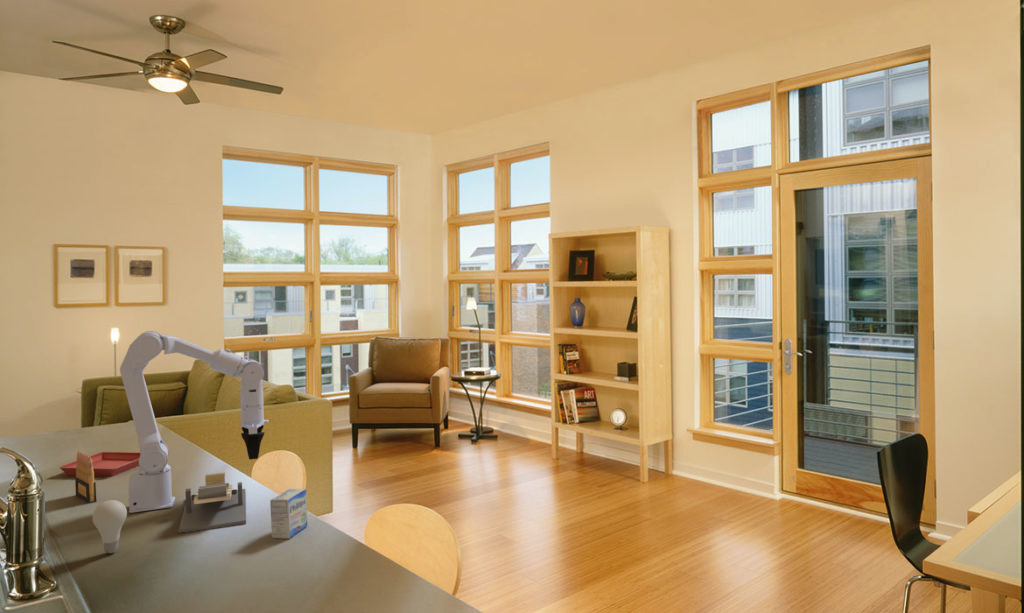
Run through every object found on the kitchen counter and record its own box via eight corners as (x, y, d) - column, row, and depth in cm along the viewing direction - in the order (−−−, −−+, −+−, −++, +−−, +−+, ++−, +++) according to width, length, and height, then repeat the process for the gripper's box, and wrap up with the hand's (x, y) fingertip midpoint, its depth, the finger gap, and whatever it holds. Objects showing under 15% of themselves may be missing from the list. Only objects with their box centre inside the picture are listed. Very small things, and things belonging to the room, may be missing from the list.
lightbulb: (92, 561, 131) (90, 507, 131) (95, 550, 136) (93, 499, 136) (127, 555, 134) (125, 502, 133) (129, 545, 139) (127, 494, 139)
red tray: (154, 462, 208) (154, 451, 208) (114, 479, 190) (114, 467, 190) (102, 461, 210) (101, 451, 210) (57, 478, 192) (57, 467, 192)
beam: (236, 499, 151) (235, 484, 152) (188, 505, 147) (187, 490, 148) (237, 489, 172) (236, 476, 173) (195, 494, 168) (195, 481, 169)
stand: (246, 523, 151) (245, 498, 150) (178, 533, 145) (177, 507, 145) (245, 491, 175) (244, 469, 174) (187, 499, 169) (186, 476, 169)
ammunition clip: (96, 501, 169) (94, 456, 168) (88, 503, 167) (86, 457, 167) (83, 493, 176) (81, 449, 175) (75, 495, 174) (73, 451, 174)
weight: (224, 489, 165) (224, 473, 166) (205, 492, 163) (205, 475, 164) (225, 488, 169) (224, 472, 170) (206, 490, 167) (206, 474, 168)
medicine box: (289, 539, 141) (288, 500, 140) (271, 538, 141) (269, 499, 141) (308, 526, 148) (306, 488, 148) (290, 525, 149) (289, 487, 149)
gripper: (268, 408, 169) (270, 460, 169) (267, 399, 182) (268, 447, 183) (239, 410, 166) (240, 463, 167) (240, 401, 180) (241, 450, 180)
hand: (253, 455), depth 175 cm, fingers open, 7 cm apart
